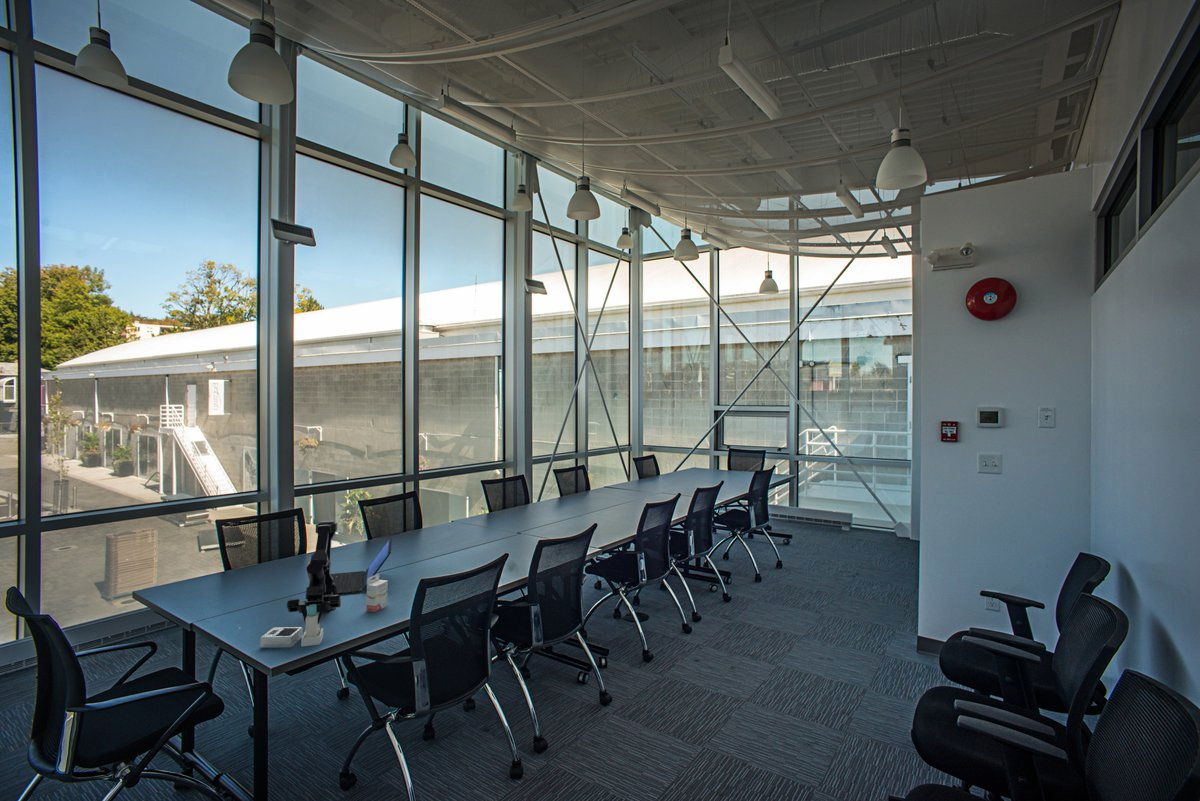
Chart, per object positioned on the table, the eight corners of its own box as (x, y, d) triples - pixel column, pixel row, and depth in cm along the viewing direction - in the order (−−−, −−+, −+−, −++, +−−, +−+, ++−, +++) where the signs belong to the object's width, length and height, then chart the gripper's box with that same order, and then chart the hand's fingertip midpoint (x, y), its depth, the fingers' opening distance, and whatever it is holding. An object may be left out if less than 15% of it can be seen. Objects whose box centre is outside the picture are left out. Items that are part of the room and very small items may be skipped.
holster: (323, 635, 226) (323, 628, 226) (320, 644, 218) (320, 636, 218) (305, 637, 224) (305, 630, 224) (301, 646, 216) (301, 638, 216)
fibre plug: (319, 637, 225) (319, 601, 225) (317, 643, 219) (317, 607, 219) (308, 638, 223) (308, 603, 223) (305, 644, 218) (305, 608, 218)
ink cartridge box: (375, 612, 251) (375, 579, 251) (366, 611, 252) (366, 578, 252) (388, 605, 259) (388, 573, 259) (378, 604, 260) (378, 572, 260)
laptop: (316, 578, 299) (316, 541, 299) (392, 571, 311) (392, 536, 311) (305, 599, 268) (305, 558, 268) (390, 591, 280) (390, 551, 280)
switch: (302, 637, 225) (302, 626, 225) (290, 647, 215) (290, 636, 215) (273, 637, 224) (273, 627, 224) (260, 647, 215) (260, 636, 215)
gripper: (287, 579, 222) (281, 617, 211) (340, 574, 228) (336, 611, 217) (291, 592, 229) (286, 630, 219) (342, 588, 235) (339, 624, 225)
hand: (312, 624), depth 220 cm, fingers closed on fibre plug, 4 cm apart
